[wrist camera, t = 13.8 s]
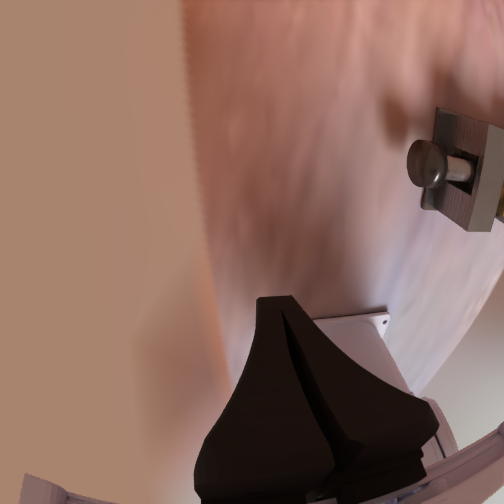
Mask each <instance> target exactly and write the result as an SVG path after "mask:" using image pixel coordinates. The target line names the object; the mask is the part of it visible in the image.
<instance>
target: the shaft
mask: <svg viewBox="0 0 504 504" xmlns="http://www.w3.org/2000/svg"><path fill="white" fill-rule="evenodd" d="M477 165H478V162H474V161H470V160H465V159H461V158H456V157H452V156H447V155H446V152H445V150H444V149H443V147H442V146H441V145H440V144H438V143H435V142H430V141H426V140H417V141H415V142H414V143H413V144H412V145H411V147H410V149H409V152H408V156H407V170H408V175H409V177H410V179H411V181H412V182H413V184H414V185H416V186H418V187H426V188H437V187H439V186H441V185H442V184H443V182H444V181H445V179H448V180H455V181H462V182H468V183H474V181H475V176H476V171H477Z"/></svg>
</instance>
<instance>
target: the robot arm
mask: <svg viewBox="0 0 504 504" xmlns="http://www.w3.org/2000/svg"><path fill="white" fill-rule="evenodd" d="M390 318H391V315H390V313H389V312H380V313H372V314H364V315H356V316H347V317H338V318H329V319H318V320H313V321H312V319H311V318H310V317H309V316H308V315H307V314H306V312H305V311H304V310H303V309H302V307H301V306H300V305H299V304H298V302H297V301H296V300H295V299H294V297H293V296H292V295H289V296H272V297H259V298H258V299H257V300H256V329H255V334H254V339H253V342H252V346H251V349H250V353H249V356H248V359H247V362H246V365H245V367H244V370H243V372H242V375H241V377H240V379H239V382H238V384H237V386H236V388H235V390H234V392H233V394H232V396H231V398H230V400H229V402H228V404H227V405H226V407H225V409H224V410H223V412H222V414H221V416H220V417H219V419H218V420H217V422H216V423H215V425H214V426H213V428H212V429H211V431H210V432H209V433H208V435H207V436H206V438H205V440H204V443H203V445H202V448H201V450H200V453H199V456H198V458H197V461H196V464H195V469H194V490H195V492H196V493H197V494H198V496H199V497H200V499H201V504H482V503H483V502H484V501H485V500H487V499H488V498H489V497H490V496H492V495H493V494H494V493H495V492H496V491H498V490H499V489H500V488H501V487H502V486H503V485H504V422H502V423H501V424H500V426H498V428H497V429H495V430H494V431H492V432H491V433H489V434H488V435H486V436H484V437H483V438H481V439H479V440H478V441H476V442H475V443H472V444H471V445H469V446H467V447H466V448H464V449H462V450H460V451H458V447H457V444H456V441H455V438H454V436H453V434H452V431H451V429H450V427H449V425H448V422H447V420H446V418H445V416H444V414H443V413H442V411H441V409H440V407H439V406H438V404H437V403H436V401H435V400H434V399H430V398H427V397H423V398H421V399H419V398H417V397H415V396H414V394H413V392H410V390H409V388H408V386H407V384H406V382H405V380H404V378H403V377H402V375H401V373H400V371H399V369H398V367H397V365H396V363H395V361H394V360H393V358H392V356H391V354H390V352H389V350H388V349H387V347H386V345H385V343H384V341H383V340H382V338H383V336H384V333H385V331H386V328H387V326H388V323H389V320H390ZM384 320H385V321H384ZM19 504H117V503H112V502H107V501H102V500H97V499H93V498H89V497H85V496H82V495H78V494H74V493H71V492H67V491H66V490H65V489H64V488H62V487H60V486H59V485H56V484H54V483H52V482H49V481H47V480H43V479H41V478H38V477H35V476H33V475H30V474H28V473H26V474H24V479H23V483H22V488H21V493H20V499H19Z"/></svg>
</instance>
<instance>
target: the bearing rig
mask: <svg viewBox="0 0 504 504" xmlns="http://www.w3.org/2000/svg"><path fill="white" fill-rule="evenodd" d="M433 142H435V143H438V144H440V145H441V146H442V147H443V149H444V150H445V152H446V155H447V156H452V157H456V158H461V159H465V160H470V161H474V162H476V160H477V156H479V159H478V165H477V171H476V176H475V181H474V186H473V187H472V183H468V182H462V181H455V180H448V179H445V181H444V182H443V184H442V185H441V186H439V187H437V188H426V187H425V192H424V197H423V202H422V207H421V208H422V209H424V210H438V211H439V212H441V213H442V214H444V215H445V216H447V217H448V218H449V219H451V220H452V221H453V222H455V223H456V224H458V225H459V226H460V227H462V228H463V229H464V230H466V231H467V232H491V228H492V225H493V222H494V218H496V219H498V220H499V221H501V222H502V223H504V217H503V216H501V215H500V214H498V213H497V212H496V211H497V207H498V203H499V199H500V195H501V191H502V187H503V182H504V130H503V129H501V128H499V127H496V126H494V125H492V124H489V123H486V122H482V121H479V120H475V119H472V118H469V117H466V116H464V115H461V114H458V113H455V112H452V111H448V110H445V109H442V108H438V107H436V119H435V128H434V137H433Z"/></svg>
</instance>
